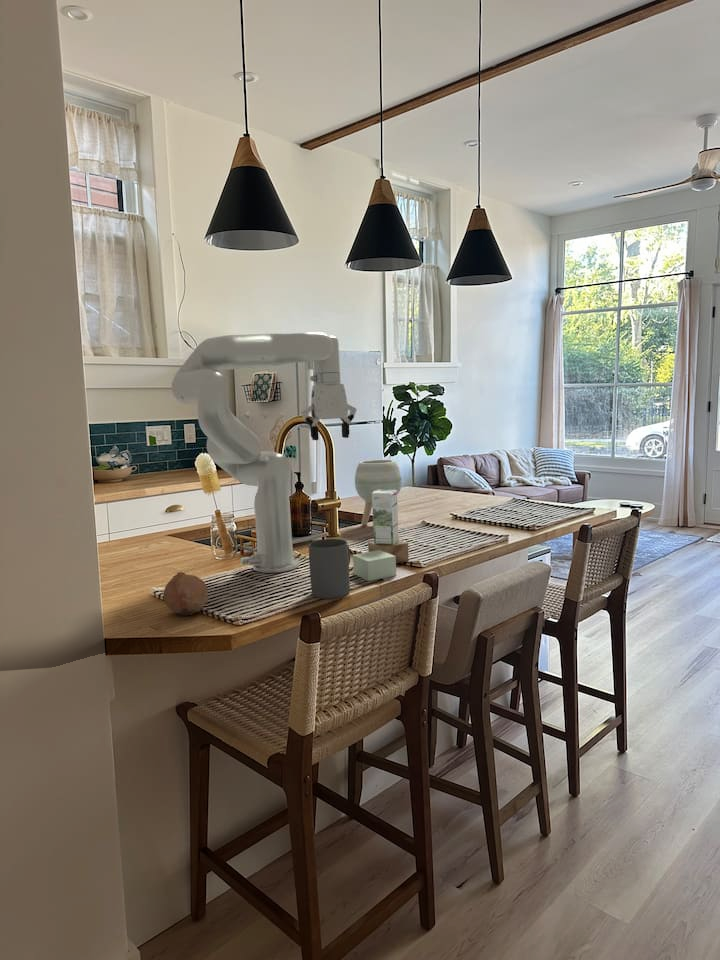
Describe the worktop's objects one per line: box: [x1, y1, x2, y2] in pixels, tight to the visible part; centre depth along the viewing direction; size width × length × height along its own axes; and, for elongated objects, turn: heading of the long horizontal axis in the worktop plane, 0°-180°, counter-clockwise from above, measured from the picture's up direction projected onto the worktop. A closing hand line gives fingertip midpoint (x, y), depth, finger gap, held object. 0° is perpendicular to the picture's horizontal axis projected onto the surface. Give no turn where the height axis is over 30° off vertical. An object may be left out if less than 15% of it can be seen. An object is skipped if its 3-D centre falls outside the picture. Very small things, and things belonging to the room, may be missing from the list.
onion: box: [162, 571, 209, 617], centre depth 144 cm, size 10×9×10 cm
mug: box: [308, 538, 351, 600], centre depth 155 cm, size 14×9×12 cm
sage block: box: [352, 550, 397, 582], centre depth 167 cm, size 8×8×5 cm
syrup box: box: [371, 490, 400, 545], centre depth 179 cm, size 6×6×14 cm
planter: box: [354, 459, 402, 526], centre depth 227 cm, size 16×16×22 cm
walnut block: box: [367, 539, 410, 564], centre depth 180 cm, size 8×8×5 cm
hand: (330, 438), depth 191 cm, fingers open, 9 cm apart
